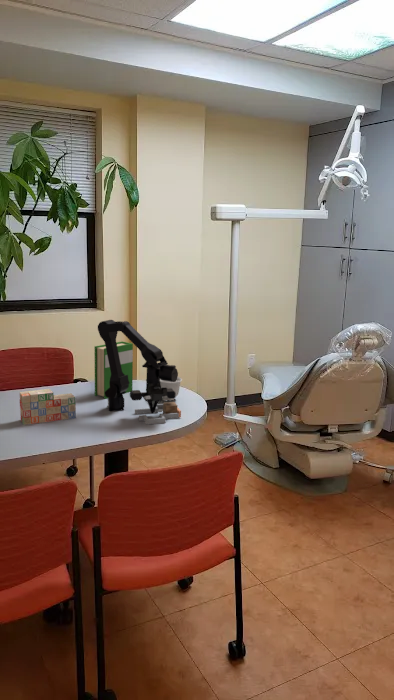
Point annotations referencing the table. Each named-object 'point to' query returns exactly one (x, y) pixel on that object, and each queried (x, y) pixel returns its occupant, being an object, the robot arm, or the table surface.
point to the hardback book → (104, 369)
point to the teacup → (171, 386)
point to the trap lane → (158, 409)
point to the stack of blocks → (46, 406)
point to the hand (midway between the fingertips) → (152, 413)
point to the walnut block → (169, 407)
